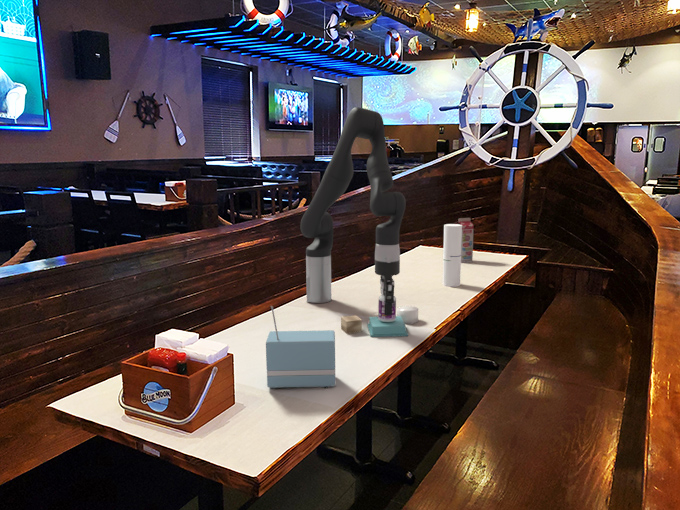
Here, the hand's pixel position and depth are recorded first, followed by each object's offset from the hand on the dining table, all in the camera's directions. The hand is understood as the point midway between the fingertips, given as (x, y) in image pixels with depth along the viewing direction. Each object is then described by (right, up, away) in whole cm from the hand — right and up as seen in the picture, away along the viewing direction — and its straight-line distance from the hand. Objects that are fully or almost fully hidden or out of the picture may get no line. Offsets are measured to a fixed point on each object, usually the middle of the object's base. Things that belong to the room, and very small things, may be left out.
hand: (386, 312), depth 165 cm
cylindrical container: (+32, +5, +58) cm, 67 cm away
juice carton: (+48, +14, +107) cm, 118 cm away
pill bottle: (0, -3, +1) cm, 3 cm away
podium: (0, -6, +1) cm, 6 cm away
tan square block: (-11, -6, +2) cm, 13 cm away
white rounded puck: (+8, -4, +11) cm, 14 cm away
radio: (-24, -13, -36) cm, 45 cm away
